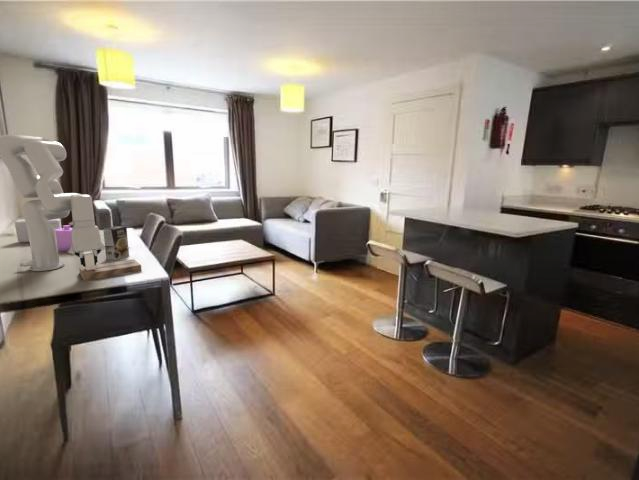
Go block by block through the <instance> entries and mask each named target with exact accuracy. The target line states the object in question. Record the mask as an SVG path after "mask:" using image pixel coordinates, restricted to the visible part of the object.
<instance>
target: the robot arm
mask: <svg viewBox="0 0 639 480" xmlns="http://www.w3.org/2000/svg"><path fill="white" fill-rule="evenodd" d="M23 156H27V158H28V159H29V161H30V162H29V161H28V160H27V159H25V158H24V157H23ZM66 158H67V151H66V148H65V146H64V145H62V144H61V143H60V142H58V141H55V140H53V139H50V138H46V137H42V136H37V135H36V136H34V135H26V134H25V135H23V134H10V133H9V134H3V135H0V160H1V161H2V162H3V164H4V165H5V166H6V168H7V169H8V171H9V173H10V176H11V177H10V178H11V179H12V181H13V184H14V186H15V188H16V191H17V192H18V194H19V195H20V197H22V198H26V199H31V200H27V201H25V202H24V203H22V205H21V207H20V211H21V212H20V213H21V214H22V217H23V220H25V222H26V225H27V230H28V235H29V241H30V242H29V245H30V253H31V259H30V260H28V261H20V262H19V266H20V268H21V267H26V268H27V267H29V270H30V271H31V272H45V271H46V272H47V271H53V270H58V269H60V268H63V267H64V266H65V263H64V262H63V261H61V260H60V255H59V254H60V253H59V251H58V247H57V240H56V234H55V229H54V227H53V226H52V225H51V224H50V223H49V222H48V221H47V220H52V219H64V218H66V217H68V216H69V215H70V212H71V217H72V221H69V222H68V225H69V226H70V227H71V226H72V227H71V228H72V235H71V237H72V245H71V247H70V249H69V251H68V252H67V253H69V254H71V255H74V256H77V257H78V258H79V261H80V266H82V267H85V266H86V265H85V258H84V256H83V253H84V252H90V251H91V252H92V253H93V255H94V263H95V265H97V263H98V255H99V254H100V253H101V252H103V251H104V250H105V248H106V247H105V244H104V243H102V238H101V234H100V233H101V232H100V229H99V227H98V226H97V225H96V222H95V213H94V205H93V198H92V196H91V195H90V194H82V193H77V192H65V193H64V190H63V188H62V186H61V184H60V182H59V180H58V179H59V178H61V177H62V176H63V174H64V170H63V168H62V166H61V165H60V163H59V162H61V161H64V160H66ZM36 172H37V173H36ZM35 198H37V199H35ZM32 199H33V200H32ZM73 250H74V251H73Z"/></svg>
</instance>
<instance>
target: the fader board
mask: <svg viewBox="0 0 639 480" xmlns="http://www.w3.org/2000/svg"><path fill="white" fill-rule="evenodd" d="M78 268H79V275H80V276H81V277H82V279H83V281H84V282H86V281H92V280H99V279H104V278H110V277H116V276H120V275H127V274H128V275H129V274H132V273H138V272H142V265H141V263H139V262H138V261H137V260H136V259H133V258H132V259H127V260H120V261H118V260H117V261H112V262H105V263H100V264H96V265H95V269H93V270H87V271H86V269H85V267H83V266H79V267H78Z"/></svg>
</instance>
